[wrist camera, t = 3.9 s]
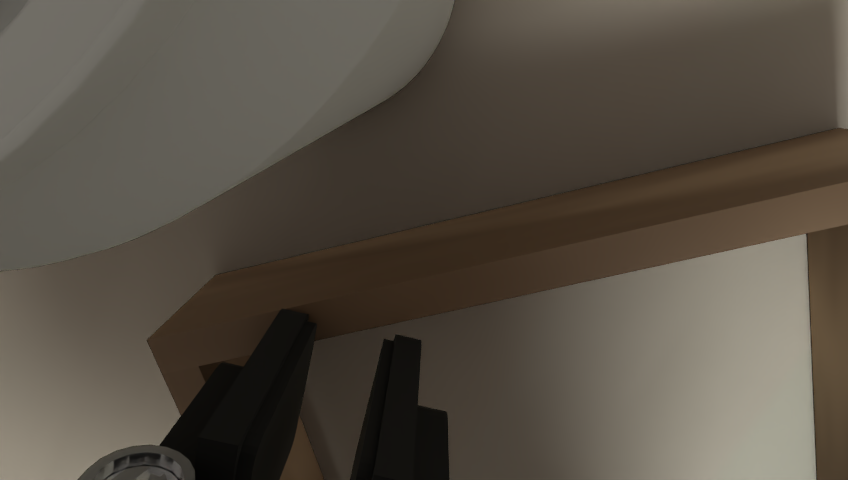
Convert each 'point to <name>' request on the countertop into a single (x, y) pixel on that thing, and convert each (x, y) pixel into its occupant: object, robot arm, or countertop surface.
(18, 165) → the beverage can
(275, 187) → the countertop surface
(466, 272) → the walnut box
